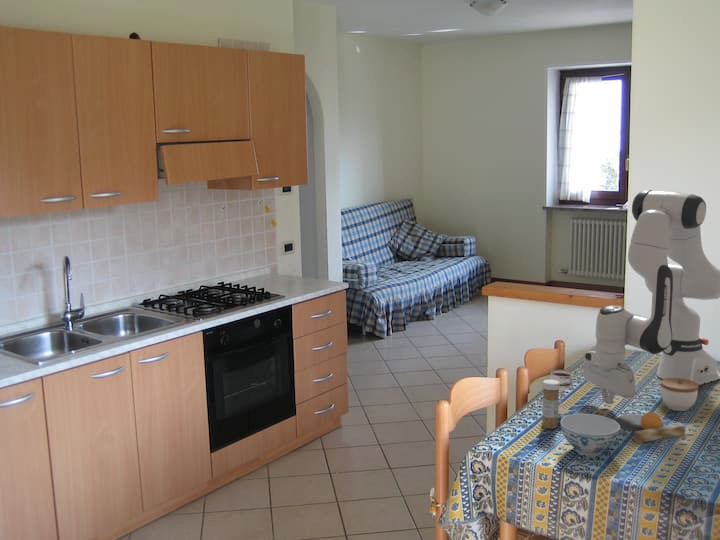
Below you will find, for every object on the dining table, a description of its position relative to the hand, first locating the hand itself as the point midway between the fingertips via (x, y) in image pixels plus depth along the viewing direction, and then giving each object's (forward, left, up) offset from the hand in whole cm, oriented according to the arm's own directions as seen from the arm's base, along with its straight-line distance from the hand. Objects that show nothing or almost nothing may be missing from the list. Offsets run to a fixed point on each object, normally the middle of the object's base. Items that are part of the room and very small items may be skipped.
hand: (607, 402), depth 236 cm
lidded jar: (-20, +8, -2) cm, 22 cm away
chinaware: (+26, +25, -2) cm, 36 cm away
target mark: (0, +14, -2) cm, 14 cm away
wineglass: (+15, -3, -2) cm, 15 cm away
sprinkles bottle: (+25, +6, -2) cm, 26 cm away
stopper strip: (+2, +24, -2) cm, 25 cm away
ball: (+1, +20, +1) cm, 20 cm away
